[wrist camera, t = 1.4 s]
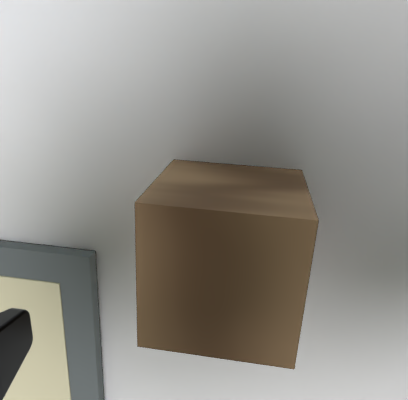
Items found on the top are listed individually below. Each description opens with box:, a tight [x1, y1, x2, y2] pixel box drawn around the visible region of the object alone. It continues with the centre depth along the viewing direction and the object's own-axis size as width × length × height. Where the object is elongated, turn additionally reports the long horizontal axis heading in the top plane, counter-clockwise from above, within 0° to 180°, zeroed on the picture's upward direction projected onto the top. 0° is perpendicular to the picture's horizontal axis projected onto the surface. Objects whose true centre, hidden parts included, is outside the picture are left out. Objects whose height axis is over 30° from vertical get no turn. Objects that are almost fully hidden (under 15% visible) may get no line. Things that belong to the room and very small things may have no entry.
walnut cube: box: [135, 160, 319, 369], centre depth 14 cm, size 5×5×5 cm
